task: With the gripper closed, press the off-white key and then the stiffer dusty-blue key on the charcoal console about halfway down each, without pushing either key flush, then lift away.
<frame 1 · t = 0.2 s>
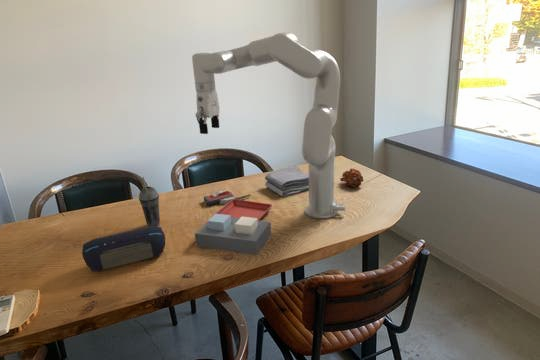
hand: (210, 130, 159), 31 cm above the table, fingers open, 9 cm apart
console: (234, 240, 138), on the table
pine cone: (351, 185, 179), on the table
plant saucer: (242, 218, 155), on the table
walkie-talkie: (226, 201, 171), on the table
white key: (246, 227, 134), point 6 cm above the table, slide at 0.0 cm
portable speaker: (128, 262, 129), on the table
blue key: (220, 224, 137), point 6 cm above the table, slide at 0.0 cm
towel: (290, 189, 180), on the table
beverage cup: (153, 225, 152), on the table
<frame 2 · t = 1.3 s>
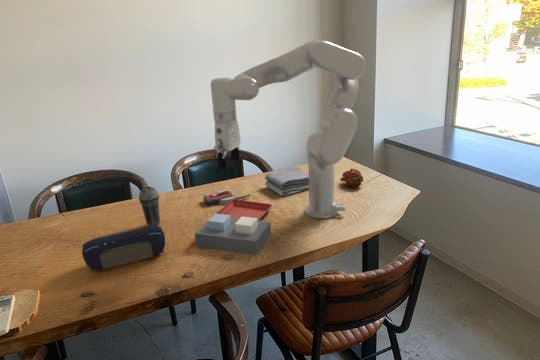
hand: (229, 164, 140), 24 cm above the table, fingers open, 9 cm apart
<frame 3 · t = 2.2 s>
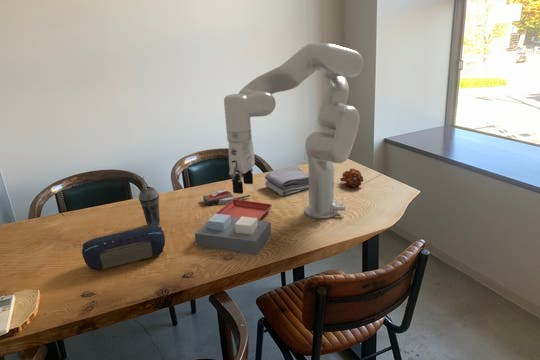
hand: (243, 188, 129), 20 cm above the table, fingers open, 7 cm apart
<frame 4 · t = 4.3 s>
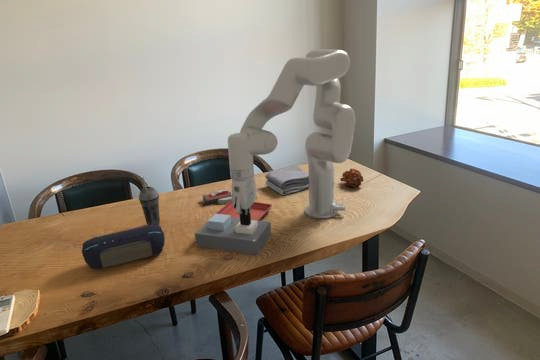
hand: (245, 223, 133), 7 cm above the table, fingers closed
white key: (247, 230, 135), point 4 cm above the table, slide at 1.0 cm, touching gripper
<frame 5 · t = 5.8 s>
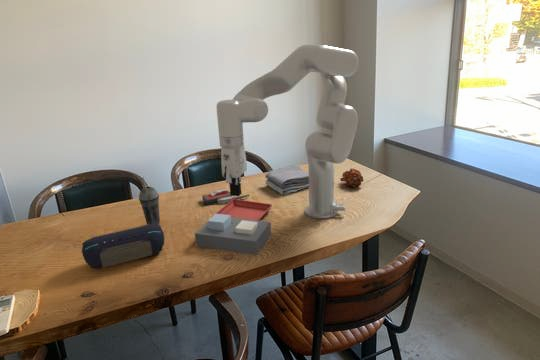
hand: (235, 194, 131), 17 cm above the table, fingers closed
white key: (247, 231, 135), point 4 cm above the table, slide at 1.5 cm
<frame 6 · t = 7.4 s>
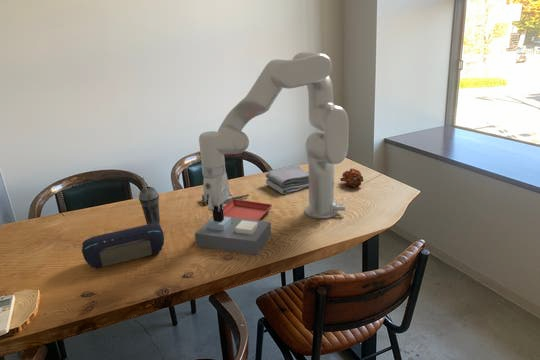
hand: (218, 220, 137), 7 cm above the table, fingers closed
blue key: (220, 226, 138), point 5 cm above the table, slide at 0.8 cm, touching gripper
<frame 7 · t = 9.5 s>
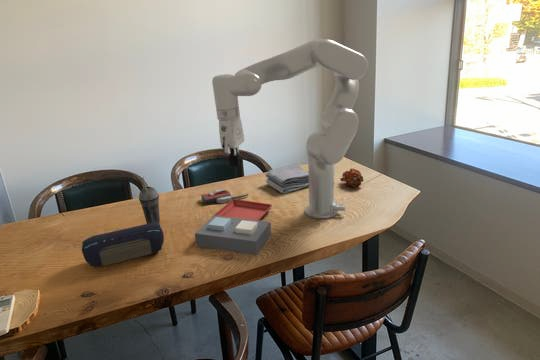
hand: (235, 165, 139), 24 cm above the table, fingers closed
blue key: (220, 228, 138), point 4 cm above the table, slide at 1.3 cm
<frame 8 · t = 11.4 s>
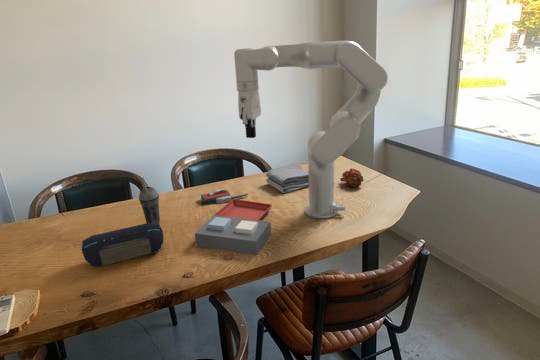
hand: (251, 137, 145), 31 cm above the table, fingers closed
at the end: white key slide at 1.5 cm; blue key slide at 1.3 cm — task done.
